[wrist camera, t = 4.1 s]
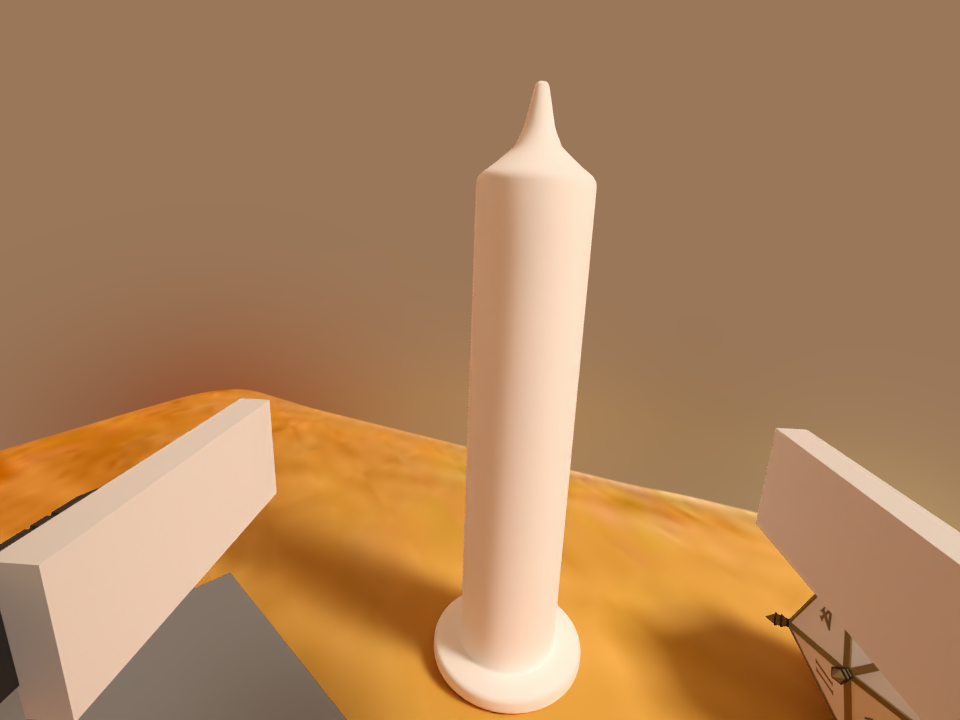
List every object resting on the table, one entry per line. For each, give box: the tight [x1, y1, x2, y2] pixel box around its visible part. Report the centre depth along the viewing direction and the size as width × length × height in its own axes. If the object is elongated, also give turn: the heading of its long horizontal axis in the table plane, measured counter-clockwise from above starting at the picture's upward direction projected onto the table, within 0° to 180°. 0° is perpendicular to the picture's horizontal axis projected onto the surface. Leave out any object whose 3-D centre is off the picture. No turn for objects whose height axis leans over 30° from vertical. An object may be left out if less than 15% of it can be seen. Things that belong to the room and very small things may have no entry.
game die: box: [766, 594, 921, 720], centre depth 20 cm, size 9×8×10 cm
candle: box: [434, 81, 597, 714], centre depth 21 cm, size 7×7×25 cm
